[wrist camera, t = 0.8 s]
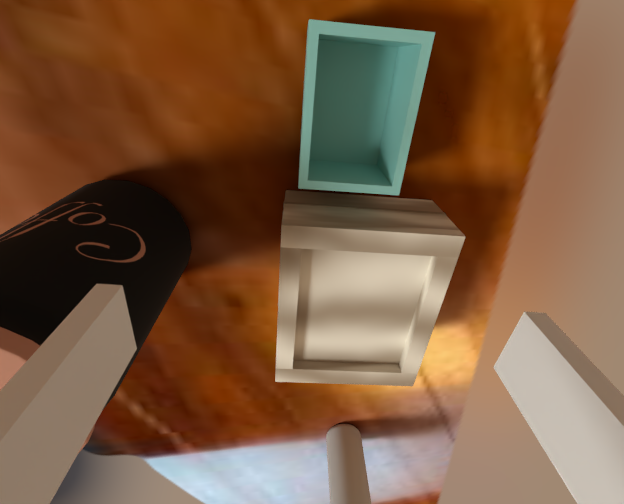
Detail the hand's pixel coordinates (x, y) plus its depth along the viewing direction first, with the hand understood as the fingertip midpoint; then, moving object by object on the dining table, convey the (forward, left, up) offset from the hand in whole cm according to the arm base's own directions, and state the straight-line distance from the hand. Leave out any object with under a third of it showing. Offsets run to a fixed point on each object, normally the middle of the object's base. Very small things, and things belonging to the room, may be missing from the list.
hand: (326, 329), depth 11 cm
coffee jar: (+7, -16, -19) cm, 26 cm away
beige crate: (+10, +4, -19) cm, 22 cm away
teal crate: (-5, +2, -19) cm, 20 cm away
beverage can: (+37, +7, -19) cm, 42 cm away
